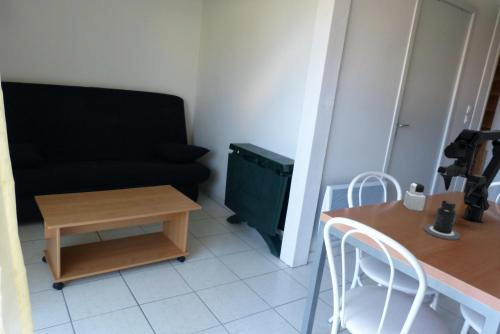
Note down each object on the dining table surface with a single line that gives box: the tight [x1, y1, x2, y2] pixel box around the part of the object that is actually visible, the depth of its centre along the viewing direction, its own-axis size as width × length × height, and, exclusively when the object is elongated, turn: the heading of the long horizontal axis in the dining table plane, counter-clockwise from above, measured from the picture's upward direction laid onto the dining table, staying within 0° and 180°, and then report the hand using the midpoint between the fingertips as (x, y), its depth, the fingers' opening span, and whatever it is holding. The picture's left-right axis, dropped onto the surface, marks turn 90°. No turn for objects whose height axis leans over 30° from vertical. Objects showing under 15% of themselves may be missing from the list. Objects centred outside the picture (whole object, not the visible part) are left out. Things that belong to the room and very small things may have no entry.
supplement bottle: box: [433, 200, 457, 234], centre depth 145 cm, size 7×7×12 cm
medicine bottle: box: [402, 182, 427, 212], centre depth 175 cm, size 7×7×12 cm
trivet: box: [423, 224, 461, 241], centre depth 146 cm, size 13×13×1 cm
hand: (456, 193), depth 159 cm, fingers open, 9 cm apart
